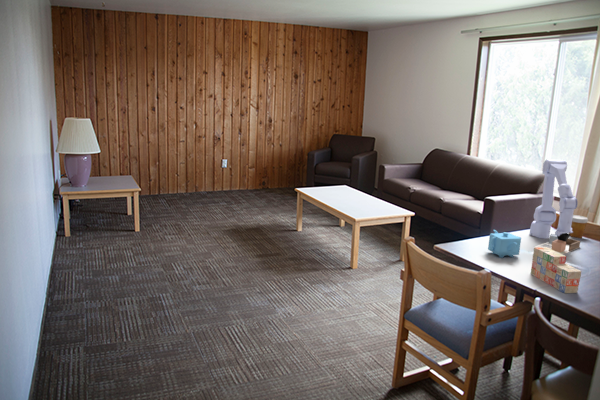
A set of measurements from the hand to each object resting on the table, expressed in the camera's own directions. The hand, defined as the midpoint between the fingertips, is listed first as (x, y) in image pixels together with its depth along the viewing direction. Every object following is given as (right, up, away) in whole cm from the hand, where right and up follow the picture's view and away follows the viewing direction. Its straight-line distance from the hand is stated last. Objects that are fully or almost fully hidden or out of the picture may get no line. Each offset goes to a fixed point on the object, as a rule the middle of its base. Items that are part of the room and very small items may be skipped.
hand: (561, 247), depth 239 cm
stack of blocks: (-25, -11, -39) cm, 48 cm away
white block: (+2, +1, +11) cm, 12 cm away
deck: (0, -2, +5) cm, 5 cm away
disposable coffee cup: (+22, +2, +26) cm, 34 cm away
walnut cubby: (+6, 0, +5) cm, 8 cm away
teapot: (-32, -3, -6) cm, 33 cm away
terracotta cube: (-2, -1, -1) cm, 3 cm away
